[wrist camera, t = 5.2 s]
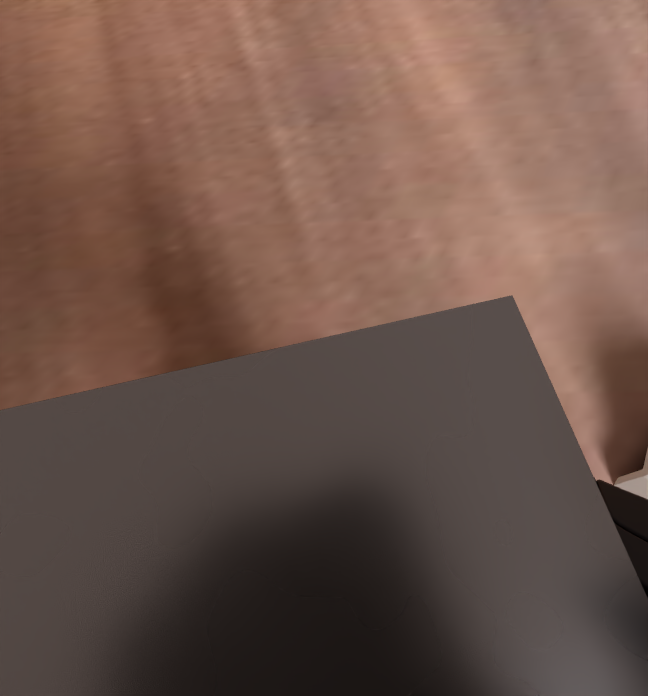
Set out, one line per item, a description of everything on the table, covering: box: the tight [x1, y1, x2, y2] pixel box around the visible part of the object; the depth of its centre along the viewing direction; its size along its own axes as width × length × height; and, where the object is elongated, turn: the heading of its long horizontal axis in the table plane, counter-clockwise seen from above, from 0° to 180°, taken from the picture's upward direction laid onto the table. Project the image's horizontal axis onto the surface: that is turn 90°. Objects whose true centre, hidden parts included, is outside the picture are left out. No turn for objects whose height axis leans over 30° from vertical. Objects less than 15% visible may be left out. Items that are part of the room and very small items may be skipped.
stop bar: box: [0, 296, 648, 696], centre depth 9 cm, size 4×5×12 cm
